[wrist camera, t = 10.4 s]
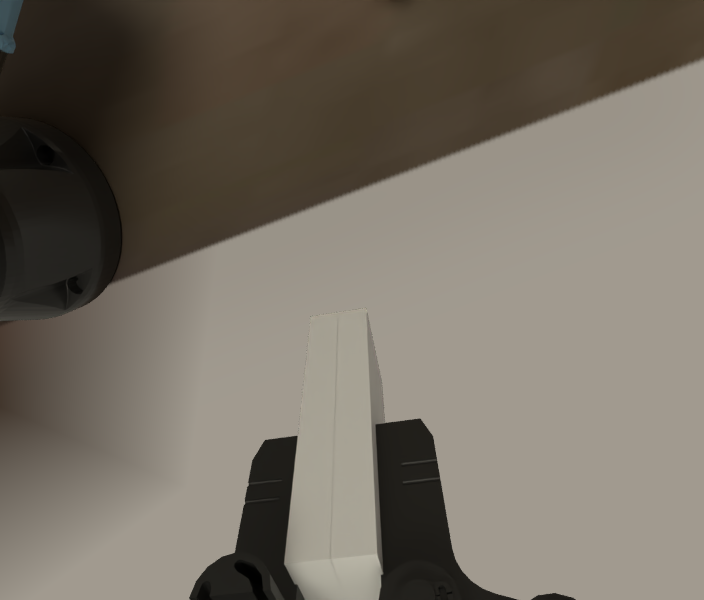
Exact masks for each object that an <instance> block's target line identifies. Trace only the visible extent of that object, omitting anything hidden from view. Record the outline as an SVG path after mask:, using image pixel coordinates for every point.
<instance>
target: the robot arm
mask: <svg viewBox="0 0 704 600" xmlns="http://www.w3.org/2000/svg"><path fill="white" fill-rule="evenodd" d="M22 3H23V0H0V74H1V71H2V68H3V65H4V63H5V60H6V57H7V54H8V53H14V50H15V48H16V44H15V40H14V38H13V34H14V31H15V27H16V24H17V20H18V17H19V14H20V10H21V7H22ZM120 248H121V228H120V220H119V215H118V210H117V207H116V203H115V200H114V197H113V195H112V192H111V190H110V188H109V185H108V183H107V182H106V180H105V178H104V176H103V174H102V173H101V171H100V170H99V168H98V167H97V165H96V164H95V162H94V161H93V160H92V158H91V157H90V156H89V155H88V154H87V153H86V152H85V151H84V150H83V149H82V148H81V147H80V146H79V145H78V144H77V143H76V142H75V141H74V140H72V139H71V138H70V137H69V136H67V135H66V134H64V133H63V132H61V131H59V130H58V129H56V128H54V127H52V126H50V125H48V124H45V123H43V122H40V121H37V120H33V119H28V118H17V117H0V321H10V320H38V319H48V318H52V317H57V316H60V315H63V314H66V313H68V312H70V311H73V310H75V309H77V308H80V307H82V306H84V305H86V304H88V303H90V302H91V301H92V300H94V299H95V298H97V297H98V296H99V295H100V294H101V293H102V292H103V291H104V289H105V288H106V287H107V285H108V284H109V282H110V281H111V279H112V277H113V275H114V273H115V270H116V267H117V264H118V260H119V255H120ZM248 483H249V486H248V487H247V492H246V497H245V505H244V508H243V514H242V518H241V523H240V529H239V534H238V539H237V545H236V550H235V553H233V554H230V555H227V556H223V557H221V558H220V559H218V560H217V561H216V562H214V563H213V564H211V565H210V566H208V567H207V568H206V570H205V571H204V572H203V573H202V575H201V576H200V577H199V578H198V580H197V581H196V583H195V585H194V588H193V590H192V592H191V595H190V597H189V598H190V600H517V599H513V598H510V597H506V596H502V595H498V594H495V593H492V592H490V591H487V590H484V589H482V588H481V587H479V586H478V585H476V584H475V583H473V582H472V581H471V580H470V579H469V578H468V577H467V576H466V575H465V574H464V573H463V572H462V570H461V569H460V567H459V565H458V563H457V562H456V560H455V557H454V553H453V550H452V545H451V540H450V533H449V528H448V522H447V517H446V510H445V504H444V498H443V492H442V486H441V481H440V475H439V469H438V463H437V457H436V452H435V445H434V439H433V436H432V434H431V433H430V432H429V430H428V429H427V427H426V426H425V424H424V423H423V422H422V421H421V419H414V420H405V421H398V422H390V423H385V417H384V404H383V390H382V380H381V376H380V371H379V366H378V362H377V356H376V352H375V347H374V343H373V338H372V333H371V329H370V324H369V319H368V314H367V310H366V308H362V309H355V310H349V311H343V312H336V313H330V314H323V315H317V316H311V318H310V328H309V336H308V346H307V356H306V364H305V374H304V384H303V392H302V401H301V411H300V420H299V430H298V436H292V437H286V438H278V439H269V440H265V441H264V442H263V444H262V446H261V447H260V449H259V451H258V453H257V454H256V455H255V457H254V459H253V460H252V466H251V471H250V476H249V482H248ZM532 600H575V599H574V598H571V597H567V596H564V595H560V594H556V593H552V594H545V595H538V596H536V597H535V598H533V599H532Z"/></svg>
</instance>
